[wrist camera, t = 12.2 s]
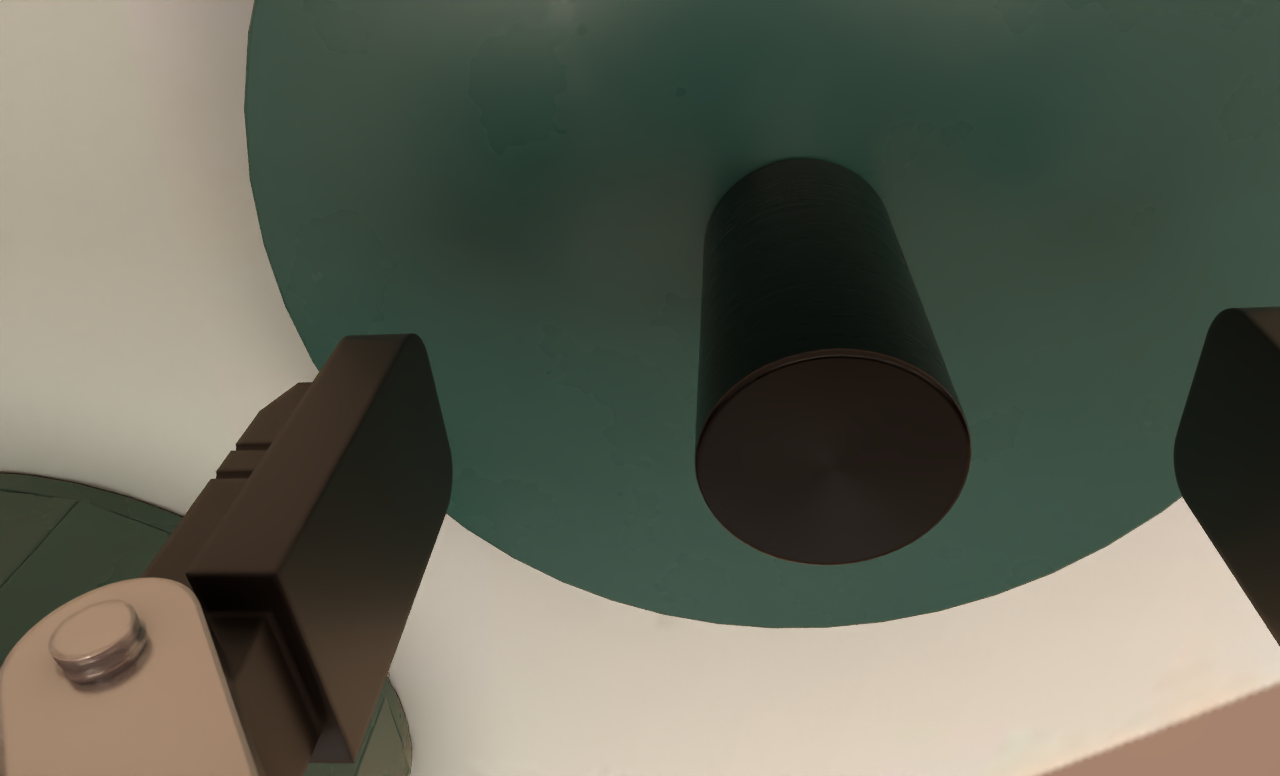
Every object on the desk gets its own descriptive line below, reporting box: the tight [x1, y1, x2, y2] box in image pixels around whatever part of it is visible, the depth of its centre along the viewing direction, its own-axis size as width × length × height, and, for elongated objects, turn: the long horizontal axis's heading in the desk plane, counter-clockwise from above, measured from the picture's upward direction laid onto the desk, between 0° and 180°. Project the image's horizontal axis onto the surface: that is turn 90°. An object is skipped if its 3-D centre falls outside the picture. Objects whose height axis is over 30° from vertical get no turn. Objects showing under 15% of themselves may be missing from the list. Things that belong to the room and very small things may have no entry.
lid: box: [244, 0, 1280, 628], centre depth 11 cm, size 16×16×6 cm
